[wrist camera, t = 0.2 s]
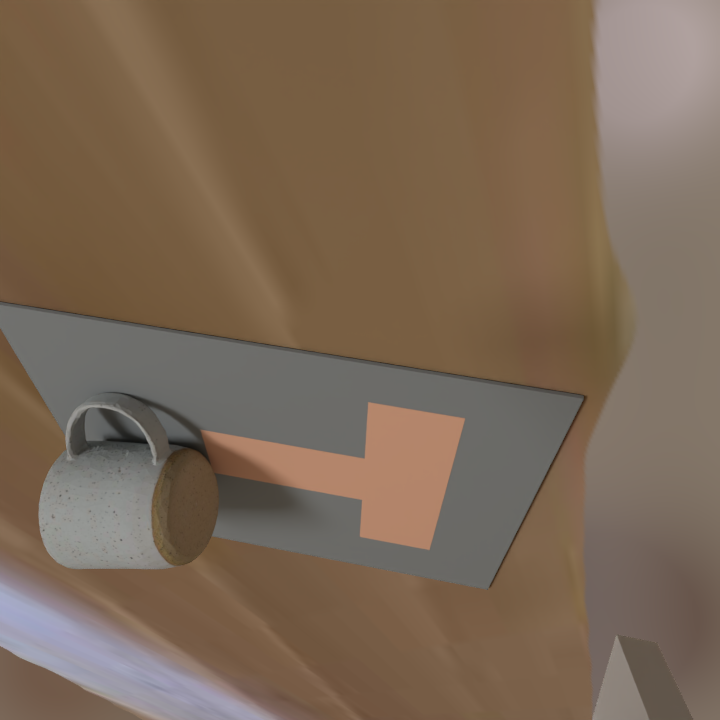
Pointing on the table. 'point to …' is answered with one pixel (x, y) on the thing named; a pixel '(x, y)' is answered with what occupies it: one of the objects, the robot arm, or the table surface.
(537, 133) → the table surface
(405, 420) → the t mat
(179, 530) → the ceramic mug
